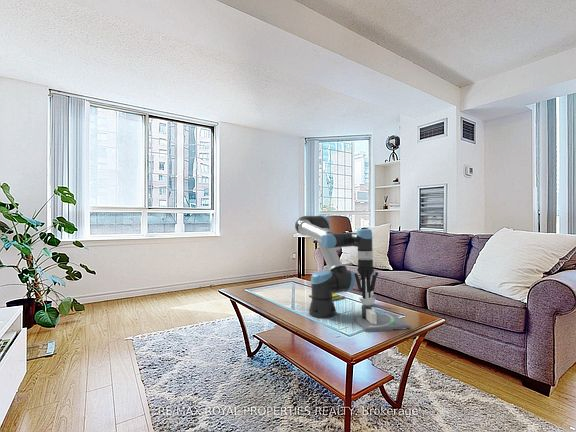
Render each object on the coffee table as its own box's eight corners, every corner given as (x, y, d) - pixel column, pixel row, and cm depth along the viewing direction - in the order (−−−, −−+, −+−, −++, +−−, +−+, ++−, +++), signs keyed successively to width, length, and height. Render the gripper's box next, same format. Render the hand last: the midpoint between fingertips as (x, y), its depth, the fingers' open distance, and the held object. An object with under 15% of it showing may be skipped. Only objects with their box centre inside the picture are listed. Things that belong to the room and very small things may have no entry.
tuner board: (365, 331, 141) (365, 327, 141) (353, 319, 159) (353, 315, 159) (410, 328, 143) (410, 325, 143) (393, 316, 161) (393, 313, 161)
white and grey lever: (360, 316, 157) (360, 304, 157) (369, 315, 158) (369, 304, 158) (370, 325, 143) (370, 312, 144) (380, 324, 144) (380, 312, 144)
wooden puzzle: (325, 303, 191) (325, 297, 191) (307, 297, 207) (307, 292, 207) (345, 299, 201) (345, 293, 201) (327, 293, 217) (327, 288, 217)
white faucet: (368, 307, 179) (367, 281, 179) (357, 303, 187) (357, 279, 188) (377, 305, 183) (376, 280, 183) (366, 301, 191) (365, 278, 191)
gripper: (355, 260, 151) (356, 307, 151) (380, 259, 152) (381, 306, 152) (350, 258, 159) (352, 303, 158) (374, 257, 160) (376, 302, 160)
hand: (366, 304), depth 155 cm, fingers closed
